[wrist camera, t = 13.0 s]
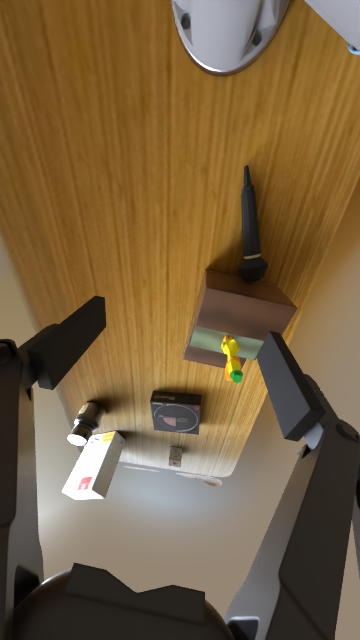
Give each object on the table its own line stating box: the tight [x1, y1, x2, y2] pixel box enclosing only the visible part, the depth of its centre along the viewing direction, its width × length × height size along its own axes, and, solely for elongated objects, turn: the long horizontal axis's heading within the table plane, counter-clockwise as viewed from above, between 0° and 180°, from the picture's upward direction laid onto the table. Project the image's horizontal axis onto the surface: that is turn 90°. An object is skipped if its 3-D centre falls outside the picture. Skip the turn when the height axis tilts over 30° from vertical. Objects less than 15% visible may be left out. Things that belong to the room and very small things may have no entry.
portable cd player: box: [150, 391, 201, 435], centre depth 67 cm, size 16×17×4 cm
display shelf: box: [183, 269, 297, 369], centre depth 43 cm, size 24×16×12 cm, turn 169°
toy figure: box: [221, 336, 243, 383], centre depth 36 cm, size 7×4×12 cm, turn 176°
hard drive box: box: [62, 431, 126, 500], centre depth 75 cm, size 16×8×20 cm, turn 118°
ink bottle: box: [68, 402, 105, 446], centre depth 69 cm, size 10×9×12 cm
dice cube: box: [169, 447, 182, 467], centre depth 81 cm, size 5×5×5 cm
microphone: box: [238, 165, 268, 282], centre depth 36 cm, size 6×6×20 cm
